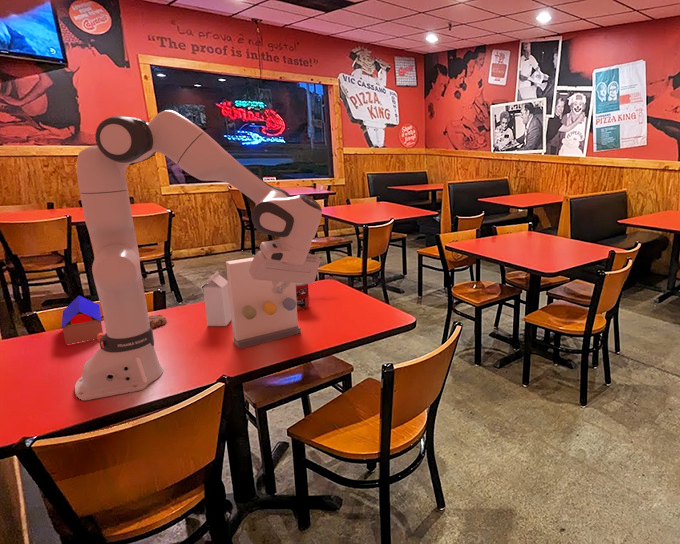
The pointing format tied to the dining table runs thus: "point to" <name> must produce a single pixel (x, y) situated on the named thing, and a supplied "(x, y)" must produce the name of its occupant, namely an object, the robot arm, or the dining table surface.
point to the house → (81, 321)
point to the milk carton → (217, 301)
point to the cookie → (156, 320)
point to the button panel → (258, 307)
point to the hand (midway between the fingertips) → (276, 292)
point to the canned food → (302, 296)
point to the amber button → (269, 308)
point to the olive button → (249, 312)
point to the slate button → (289, 303)
